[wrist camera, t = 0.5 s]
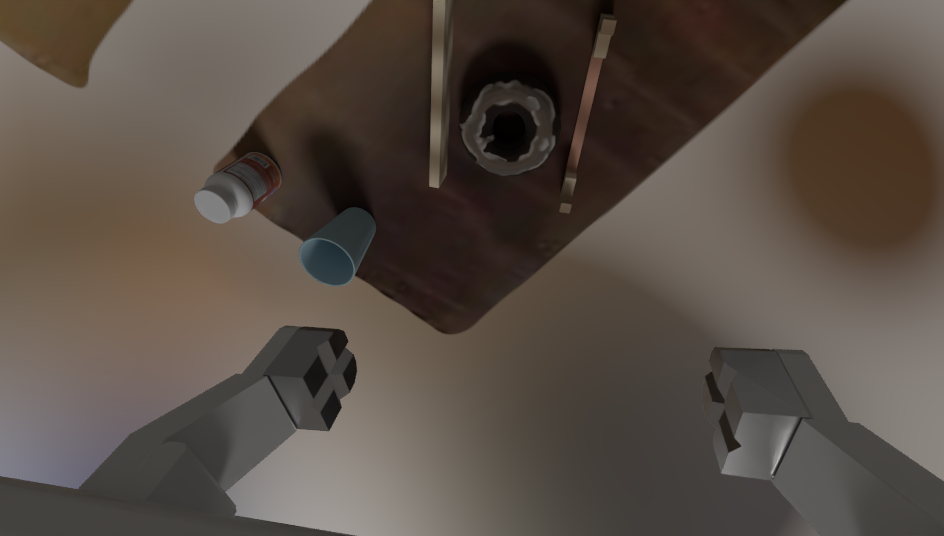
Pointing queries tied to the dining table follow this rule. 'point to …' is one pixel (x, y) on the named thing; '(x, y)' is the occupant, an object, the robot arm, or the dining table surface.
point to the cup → (338, 247)
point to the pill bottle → (238, 187)
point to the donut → (517, 97)
